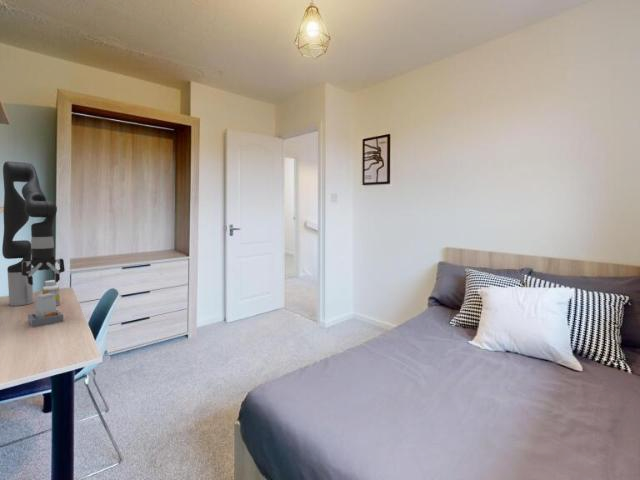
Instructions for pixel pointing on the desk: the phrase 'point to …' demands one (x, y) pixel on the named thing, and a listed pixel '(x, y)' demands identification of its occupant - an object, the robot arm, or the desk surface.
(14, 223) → the robot arm
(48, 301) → the skincare box
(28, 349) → the desk surface
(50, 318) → the frame
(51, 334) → the desk surface
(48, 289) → the supplement bottle
